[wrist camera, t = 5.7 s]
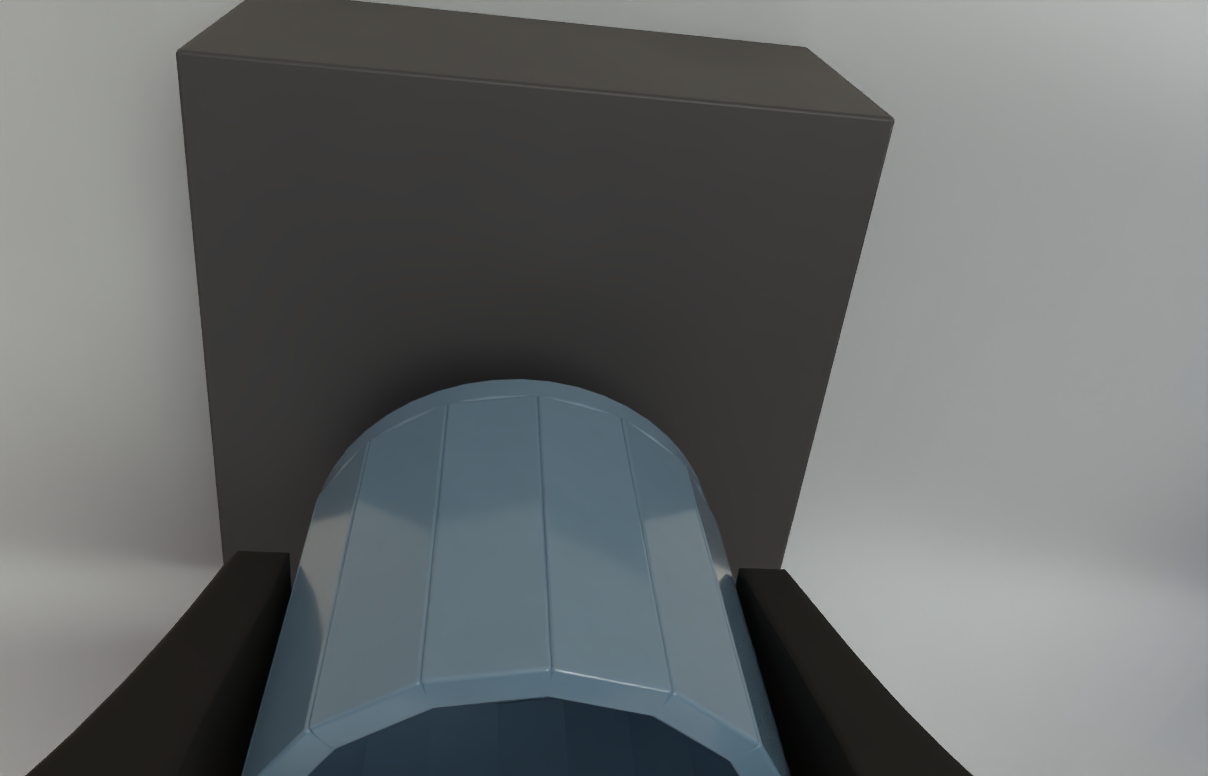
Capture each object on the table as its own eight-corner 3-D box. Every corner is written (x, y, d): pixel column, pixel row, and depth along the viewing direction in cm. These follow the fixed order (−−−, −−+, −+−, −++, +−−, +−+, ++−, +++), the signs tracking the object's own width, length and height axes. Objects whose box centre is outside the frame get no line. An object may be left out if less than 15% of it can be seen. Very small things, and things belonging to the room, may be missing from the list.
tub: (766, 604, 15) (872, 930, 11) (441, 737, 16) (417, 1089, 11) (607, 306, 12) (663, 579, 8) (226, 485, 13) (89, 820, 9)
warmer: (808, 46, 17) (896, 118, 13) (692, 608, 23) (730, 771, 19) (256, -10, 16) (174, 50, 12) (288, 596, 22) (241, 766, 18)
